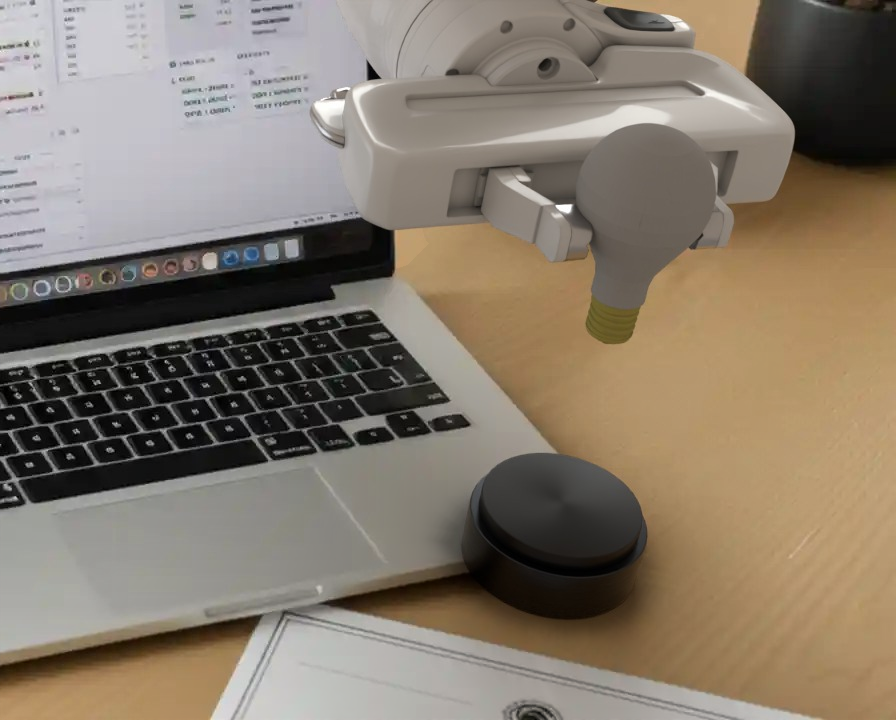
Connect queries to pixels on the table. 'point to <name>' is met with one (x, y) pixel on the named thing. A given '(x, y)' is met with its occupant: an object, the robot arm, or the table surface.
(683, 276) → the table surface
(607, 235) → the light bulb
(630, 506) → the black round lamp base
